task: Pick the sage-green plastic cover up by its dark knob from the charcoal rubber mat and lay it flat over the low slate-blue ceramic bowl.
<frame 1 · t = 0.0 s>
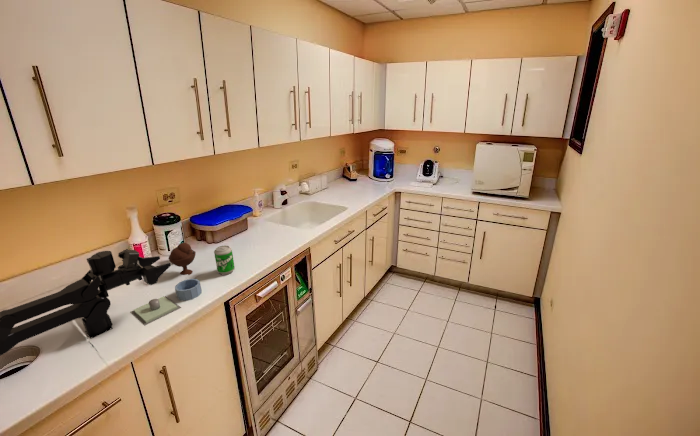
hand: (165, 260, 125), 17 cm above the countertop, tool horizontal, fingers open, 9 cm apart
ice cream bowl: (186, 273, 149), on the countertop
bowl: (189, 295, 132), on the countertop
soda can: (226, 271, 150), on the countertop
rubber mat: (156, 311, 122), on the countertop
cover: (155, 309, 122), point 1 cm above the countertop, touching rubber mat
skincare box: (183, 260, 161), on the countertop
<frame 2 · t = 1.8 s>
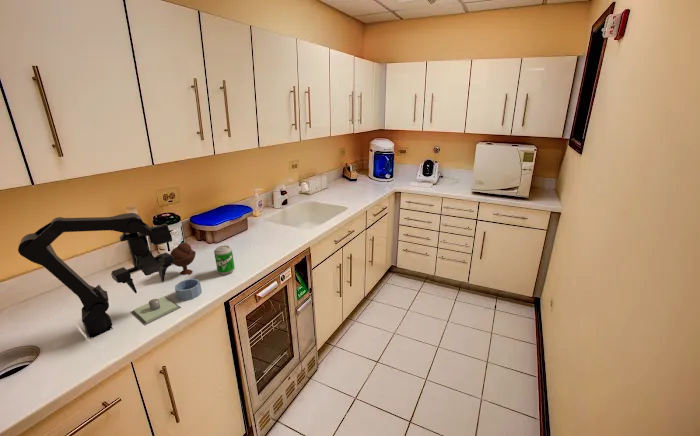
hand: (149, 287, 118), 10 cm above the countertop, tool pointing down, fingers open, 9 cm apart
nothing on the countertop moved.
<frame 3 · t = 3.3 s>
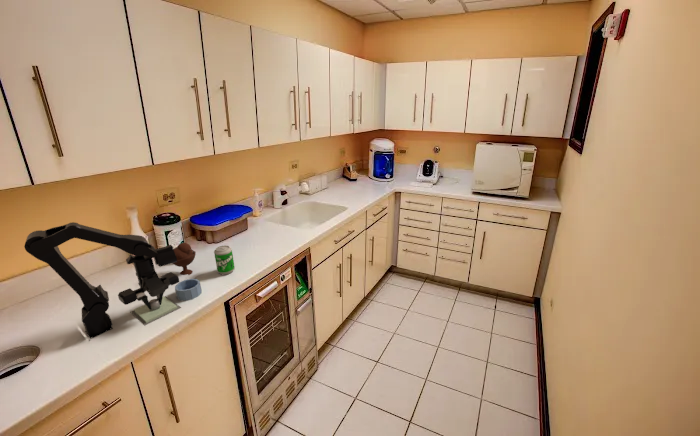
hand: (155, 306, 121), 2 cm above the countertop, tool pointing down, fingers closed on cover, 3 cm apart
cover: (155, 309, 122), point 1 cm above the countertop, touching gripper, rubber mat
everything else where it was.
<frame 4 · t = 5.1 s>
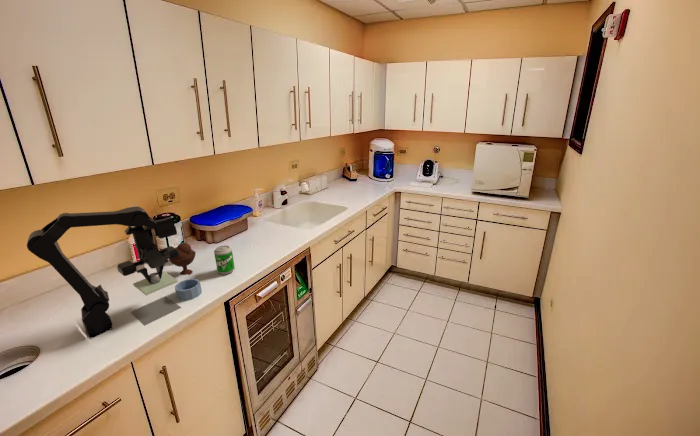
hand: (155, 280, 119), 12 cm above the countertop, tool pointing down, fingers closed on cover, 3 cm apart
cover: (155, 283, 120), point 11 cm above the countertop, touching gripper
everything else where it was.
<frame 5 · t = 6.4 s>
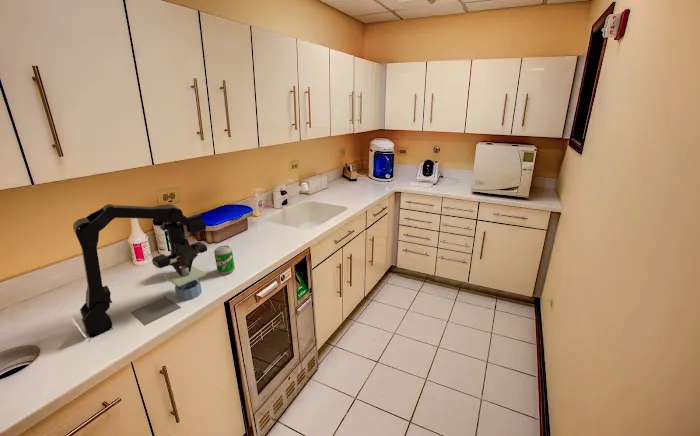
hand: (184, 273, 128), 10 cm above the countertop, tool pointing down, fingers closed on cover, 3 cm apart
cover: (185, 276, 129), point 9 cm above the countertop, touching gripper
everything else where it was.
when the fingers open (7 cm above the countertop, at t = 7.2 s): cover stays where it is, resting on bowl.
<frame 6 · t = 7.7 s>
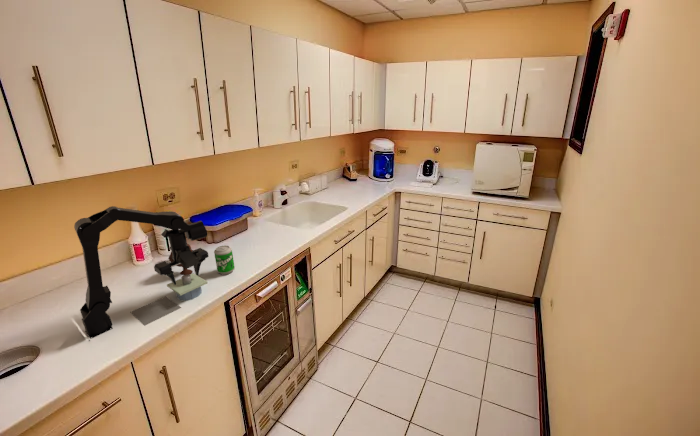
hand: (186, 279, 129), 7 cm above the countertop, tool pointing down, fingers open, 9 cm apart
cover: (187, 284, 130), point 5 cm above the countertop, touching bowl
everything else where it was.
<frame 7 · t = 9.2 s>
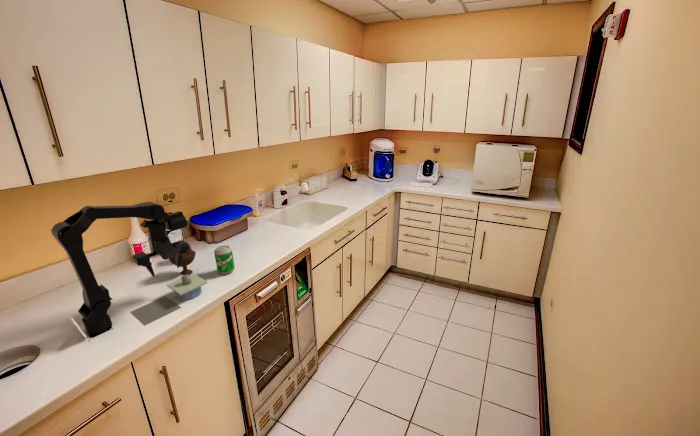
hand: (166, 271, 127), 12 cm above the countertop, tool pointing down, fingers open, 9 cm apart
nothing on the countertop moved.
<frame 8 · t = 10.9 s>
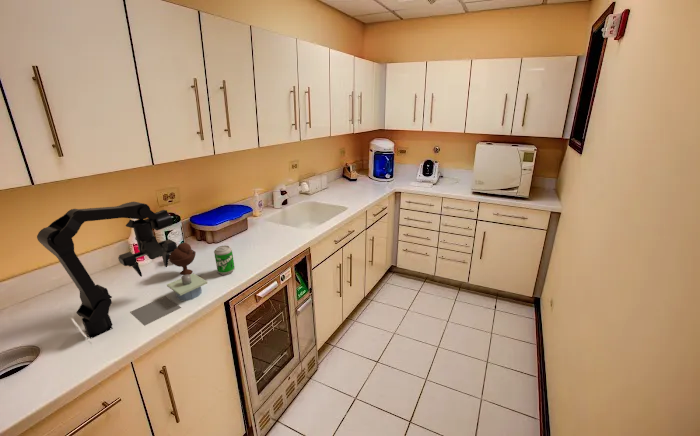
hand: (153, 271, 126), 12 cm above the countertop, tool pointing down, fingers open, 9 cm apart
nothing on the countertop moved.
at the end: cover 0.1 cm off-centre on the bowl, point 5.0 cm above the bowl's base; cover tilted 0°; the gripper is holding nothing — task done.
